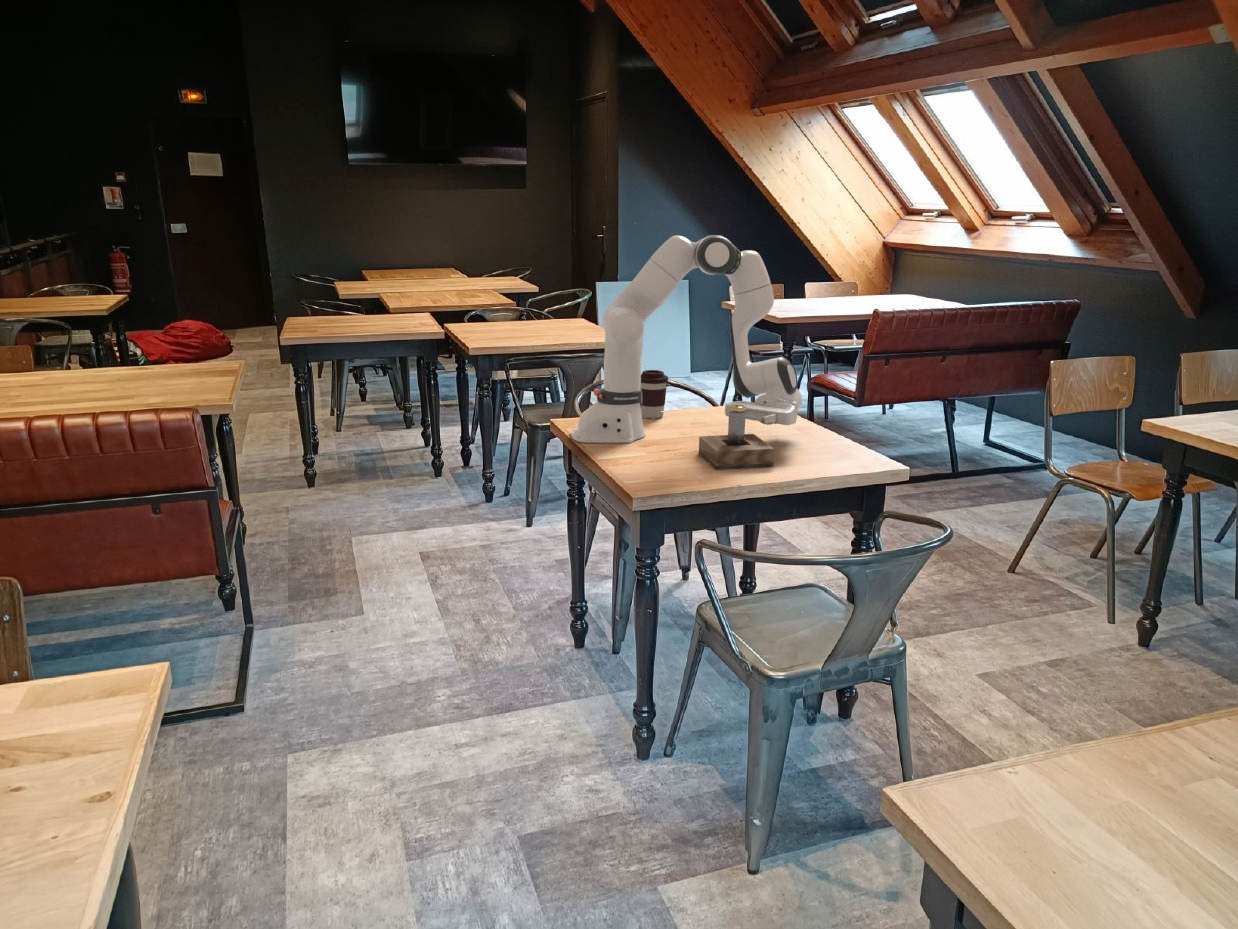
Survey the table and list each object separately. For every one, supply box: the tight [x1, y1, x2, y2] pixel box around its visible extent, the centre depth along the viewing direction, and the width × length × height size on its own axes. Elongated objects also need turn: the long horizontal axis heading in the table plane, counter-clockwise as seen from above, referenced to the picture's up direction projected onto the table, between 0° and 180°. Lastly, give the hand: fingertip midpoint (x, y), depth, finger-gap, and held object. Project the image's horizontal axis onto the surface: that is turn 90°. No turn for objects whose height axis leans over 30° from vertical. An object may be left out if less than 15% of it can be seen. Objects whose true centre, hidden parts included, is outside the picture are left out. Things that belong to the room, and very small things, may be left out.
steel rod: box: [727, 405, 746, 446], centre depth 242 cm, size 5×5×14 cm
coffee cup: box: [641, 369, 669, 419], centre depth 291 cm, size 10×10×15 cm
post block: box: [698, 433, 775, 471], centre depth 244 cm, size 16×16×5 cm
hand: (747, 417), depth 247 cm, fingers open, 8 cm apart
